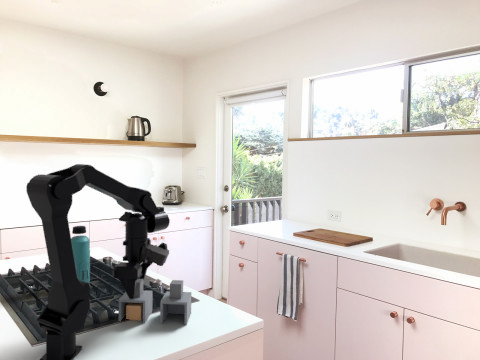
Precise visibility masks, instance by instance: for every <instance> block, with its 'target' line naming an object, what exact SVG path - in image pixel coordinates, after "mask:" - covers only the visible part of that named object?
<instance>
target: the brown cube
mask: <svg viewBox="0 0 480 360" xmlns="http://www.w3.org/2000/svg"><path fill="white" fill-rule="evenodd" d="M125 317H126V318H125V320H126V319H130V320H129V321H143V303H132V302H129V303H128V304H127V305H126V316H125Z"/></svg>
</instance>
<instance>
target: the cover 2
mask: <svg viewBox="0 0 480 360" xmlns="http://www.w3.org/2000/svg"><path fill="white" fill-rule="evenodd" d="M159 307H160V309H159V312H160V313H159V324H160V325H162V324H163V323H164V321H165V319H166V318H167V316H168V314H177V315H178V314H182V315H184V326H187V325H188V323H189V319H190V318H191V314H192V292H189V291H184V280H180V279H179V280H178V279H177V280H176V279H172V280H171V281H170V283H169V291H168V290H167V291H166V292H165V293H164V295H163V297H162V298H161V300H160V304H159Z"/></svg>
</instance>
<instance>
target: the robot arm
mask: <svg viewBox="0 0 480 360" xmlns="http://www.w3.org/2000/svg"><path fill="white" fill-rule="evenodd" d="M25 186H26V189H25V190H26V194H27V197H28V199H29V203H30V205H31V207H32V208H33V209H34V211H35V212H36V214H37V215H38V217H39V218H40V220H41V224H42V231H43V236H44V242H45V247H46V248H45V249H46V252H47V253H46V254H47V257H48V258H47V259H48V263H49V269H50V276H51V281H52V283H51V286H50V287H49V290H48V293H47V304H46V306H45V307H44V308H43V310H41V311H42V312H40V314H39V315H38V316H37V318H36V323H37V325H38V327H39V328H43V329H44V330H46V331H45V332H46V333H45V349H46V350H45V351H46V352H45V353H44V354H43V355H42V356H41V357H40V358H39V360H74V359H75V357H76V356H77V355H78V354H79V353H80V351H81V350H83V345H78V344H77V341H76V340H77V339H76V338H77V336H76V335H77V332H78V331H81V330H83V329H84V327H85V323H86V319H87V317H88V312H89V310H90V307H91V301H92V300H93V297H92V296H91V295H92V294H91V293H90V291H91V289H90V288H91V287H90V284H89V283H90V282H89V283H87V282H84V281H80V280H79V279H78V277H77V273H76V266H75V260H74V254H73V248H72V242H71V238H72V237H71V231H70V225H69V218H68V216H69V215H68V214H69V212H70V211H71V207H72V205H73V195H75V194H77V193H79V192H81V191H82V190H83V189H84V188H85V186H86V187H89V188H91V189H93V190H95V191H97V192H99V193H101V194H104V195H105V196H108V197H110V198H112V199H113V200H115V201H116V203H117V205H119V206H120V207H121V208H123V209H124V210H126V211H124V213H123V214H121V216H120V217H119V218H118V221H119V222H125V230H124V231H125V233H124V234H125V237H124V238H125V239H124V240H122V246H124V249H125V251H124V254H125V255H124V256H123V257H122V261H121V262H119V263H118V264H117V265H116V266H115V267H113V269H112V278H114V279H118V280H119V282H120V284H121V285H122V287H123V289H124V291H125V292H126V293H127V295H128V297H129V298H130V299H133V298H134V295H135V289H136V283H137V279H143V284H144V282H145V280H146V279H145V278H146V275H147V271H148V268H149V267H150V266H151V265H153V264H156V266H159V267H163V266H164V264H165V263H166V262H167V259H168V257H169V255H170V249H168V243H165V242H163V241H162V242H161V243H159V245H157V244H155V245H154V244H152V241H151V238H150V237H149V236H148V234H152V233H156V232H159V231H164V230H167V228H168V227H169V226H170V221H171V220H170V217H169V215H168V213H167V212H166V211H165V207H163V206H157V205H156V203H155V201H154V199H153V197H152V193H151V192H150V191H149V190H146V189H143V188H140V187H133V186H129V185H126V184H125V183H123V182H121V181H119V180H117V179H116V178H114V177H111V176H110V175H108V174H106V173H104V172H102V171H100V170H98V169H96V168H95V167H94V166H93V165H91V164H84V163H83V164H82V163H81V164H80V163H77V164H74V165H71V166H69V167H66V168H63V169H61V170H60V169H59V170H56V171H53V172H49V173H48V174H47V173H46V174H44V173H43V174H37V175H34V176H32V177H31V178H30V179H29V181H28V182H27V184H26V185H25ZM132 212H133V213H132Z"/></svg>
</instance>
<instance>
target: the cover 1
mask: <svg viewBox="0 0 480 360" xmlns="http://www.w3.org/2000/svg"><path fill="white" fill-rule="evenodd" d="M129 302H132V303H143V318H142V323H143V324H146V322H147V321H148V319H149V317H150V316H151V315H152V312H153V290H144V283H143V279H137V283H136V289H135V295H134V298H133V299H130V298H129V297H128V295H127V293H126V291H125V292H124V293H123V295H121V296H120V298H118V322H119V321H120V322H119V323H121V322H122V321H123V320H124V319H125V317H126V316H125V314H126V305H127V304H128V303H129ZM124 316H125V317H124ZM123 318H124V319H123ZM122 319H123V320H122ZM121 320H122V321H121Z"/></svg>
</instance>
